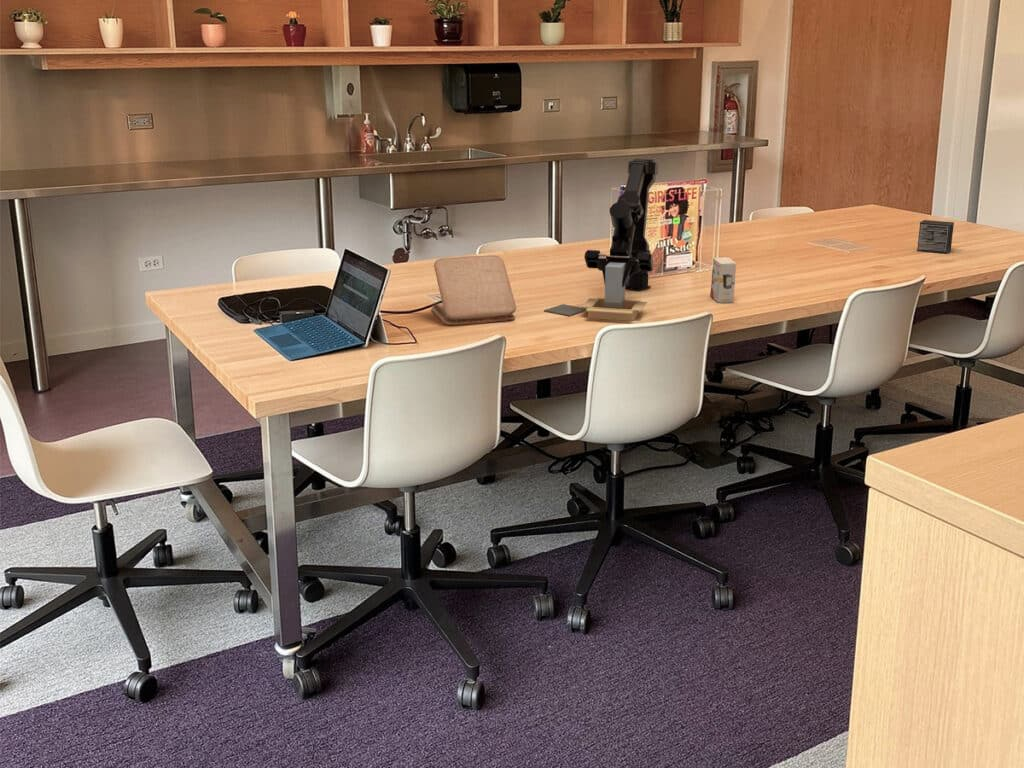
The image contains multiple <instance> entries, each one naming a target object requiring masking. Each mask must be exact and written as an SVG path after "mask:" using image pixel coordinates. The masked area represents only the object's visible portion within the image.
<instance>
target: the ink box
mask: <svg viewBox="0 0 1024 768" xmlns="http://www.w3.org/2000/svg"><path fill="white" fill-rule="evenodd" d="M712 258H713V259H712V260H713V261H712V268H711V269H712V270H711V271H712V272H711V283H710V292H709V293H710V294H709V296H710V297H711V298H712V299H714V300H715V301H716V302H717V303H723V304H724V303H732V304H733V303H734V300H735V286H736V285H735V284H736V271H737V262H735V261H734V259H732V258H730V257H724V256H723V257H712Z"/></svg>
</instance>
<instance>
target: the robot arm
mask: <svg viewBox="0 0 1024 768" xmlns="http://www.w3.org/2000/svg"><path fill="white" fill-rule="evenodd" d="M627 174H628V177H627V181H626V185H625V189H624V192H623V193H622V194H621V195H620V196H619V197H617V201H616V202H614V203H613V204H612V205H611V206H610V207H609V215H610V219H611V225H612V227H613V228H614V229H613V234H612V236H611V246H610V249H609V255H608V254H606V253H601V250H597V249H587V250H586V251H585V252H584V261H585V265H586V267H587V268H588V269H597V270H598V271H601V272H602V277H603V284H604V285H605V267H606V266H607V265H608V264H609V263H610V262H615V263H626V268H625V272H624V276H623V281H622V287H624V286H625V289H628V290H631V291H641V290H642V291H643V290H646V289H650V288H651V287H652V286H651V285H649V274H648V272H653V268H654V259H653V254H652V252H651V250H650V245H649V242H648V240H647V238H646V229H647V228H646V227H647V217H648V206H649V205H648V204H649V194H650V189H651V188H652V186H653V184H655V182H656V177H657V176H658V174H659V163H658V162H656V161H655V158H654V159H651V158H650V159H649V158H634V159H632V160H630V161H628V164H627Z"/></svg>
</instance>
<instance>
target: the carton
mask: <svg viewBox="0 0 1024 768" xmlns="http://www.w3.org/2000/svg"><path fill="white" fill-rule="evenodd" d="M647 304H648V301H641V300H637V299H636V300H635V299H634V300H633V299H625V308H624V309H613V308H605V297H604V298H602V297H596V298H595V297H594V298H592V297H589V298H588V299H587V300H586V301H585V303H583V305H581V307H582V308H587V309H586V311H585V312H587V318H589V319H599V320H600V319H602V320H613V321H614V320H617V321H630V322H631V321H632V322H633V321H634V320H635V319H636V317H637V316H638V314H639V313H640V312H642V311H643V310H644V308H645V306H646V305H647Z"/></svg>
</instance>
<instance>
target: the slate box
mask: <svg viewBox="0 0 1024 768" xmlns="http://www.w3.org/2000/svg"><path fill="white" fill-rule="evenodd" d="M625 268H626V263H615V262H610V263H609V264H608V265H607V266H606V267H605V284H604V298H605V308H613V309H624V308H625V300H626V288H625V286H624V287H622V281H623V276H624V272H625Z"/></svg>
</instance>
